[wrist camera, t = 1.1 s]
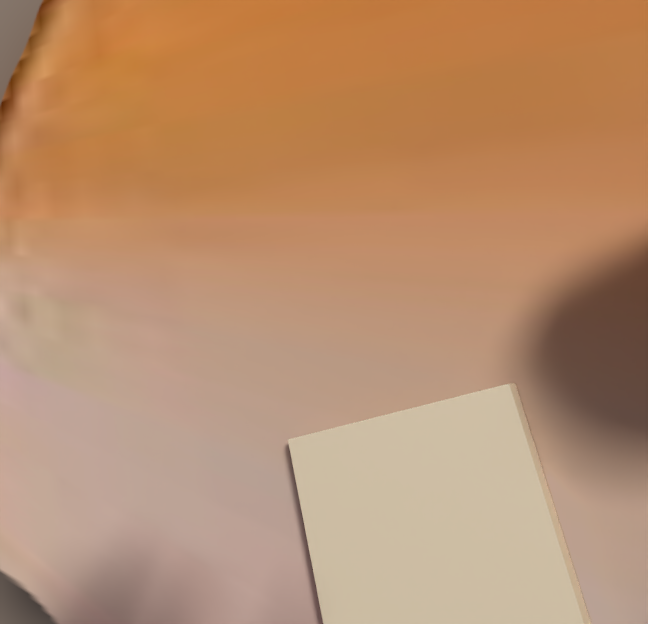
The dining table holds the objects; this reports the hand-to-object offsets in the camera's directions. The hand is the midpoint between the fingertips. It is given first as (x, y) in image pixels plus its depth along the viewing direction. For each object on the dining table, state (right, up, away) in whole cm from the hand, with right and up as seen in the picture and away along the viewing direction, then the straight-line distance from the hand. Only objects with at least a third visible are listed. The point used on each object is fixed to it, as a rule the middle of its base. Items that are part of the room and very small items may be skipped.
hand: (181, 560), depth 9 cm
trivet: (+8, -8, +15) cm, 18 cm away
